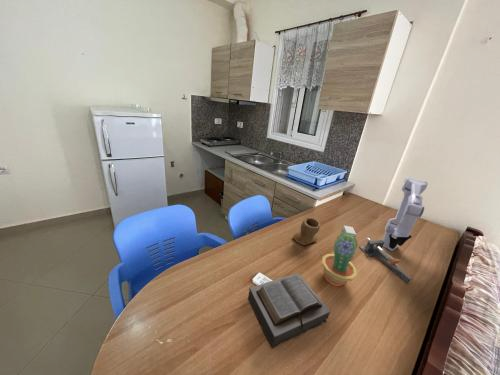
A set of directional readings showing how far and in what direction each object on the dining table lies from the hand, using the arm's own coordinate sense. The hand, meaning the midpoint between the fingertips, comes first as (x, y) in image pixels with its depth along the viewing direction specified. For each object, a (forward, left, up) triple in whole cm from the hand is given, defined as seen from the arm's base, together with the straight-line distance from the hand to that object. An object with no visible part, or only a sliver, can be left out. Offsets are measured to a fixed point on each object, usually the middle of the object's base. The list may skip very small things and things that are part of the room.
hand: (395, 246), depth 108 cm
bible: (+72, -7, -11) cm, 73 cm away
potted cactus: (+40, -8, -11) cm, 42 cm away
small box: (+10, -21, -11) cm, 25 cm away
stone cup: (+30, -34, -11) cm, 46 cm away
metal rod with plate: (+1, -5, -7) cm, 9 cm away
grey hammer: (+3, 0, -10) cm, 11 cm away
